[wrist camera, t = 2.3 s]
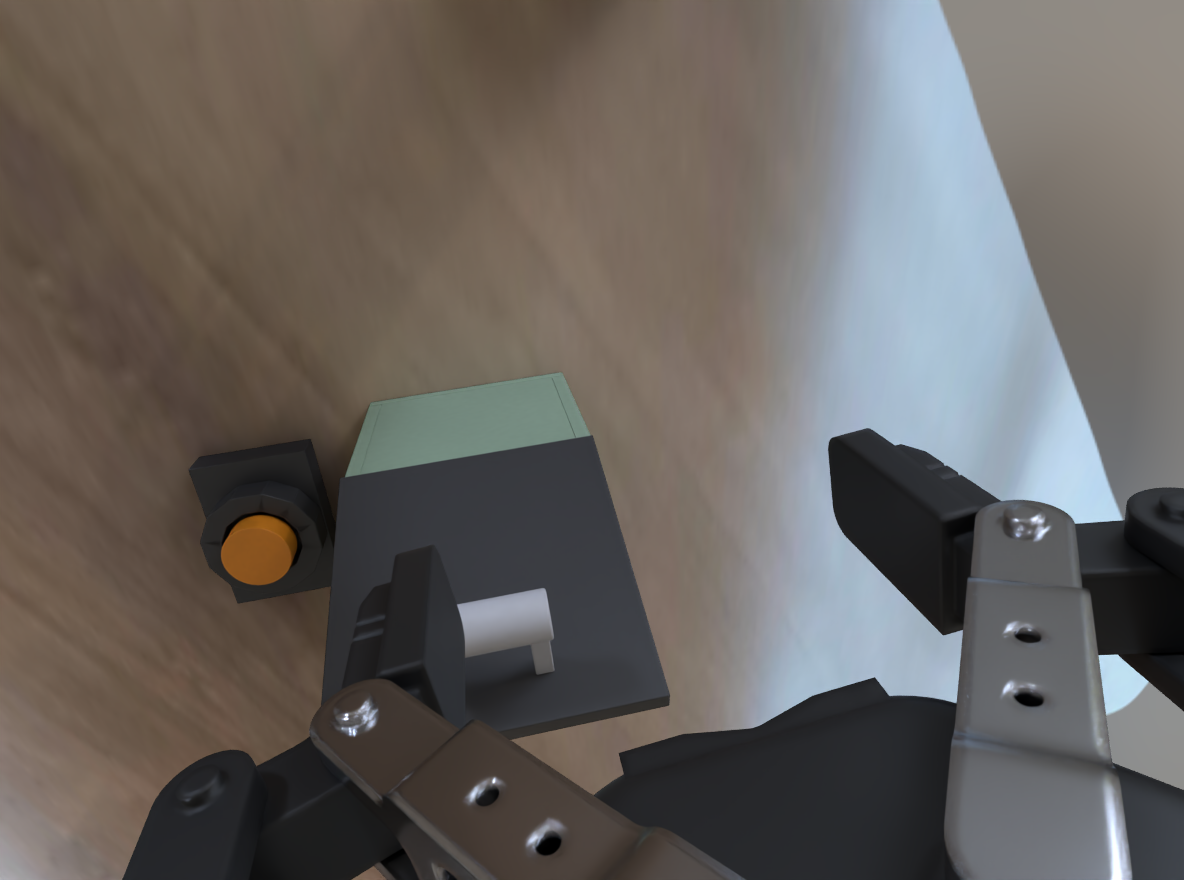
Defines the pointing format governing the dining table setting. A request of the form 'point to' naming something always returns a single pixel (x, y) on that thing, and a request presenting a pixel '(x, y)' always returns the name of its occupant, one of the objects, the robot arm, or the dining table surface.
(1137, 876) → the robot arm
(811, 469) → the dining table surface
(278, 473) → the block
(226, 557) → the button
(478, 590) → the lid
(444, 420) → the sage green box
